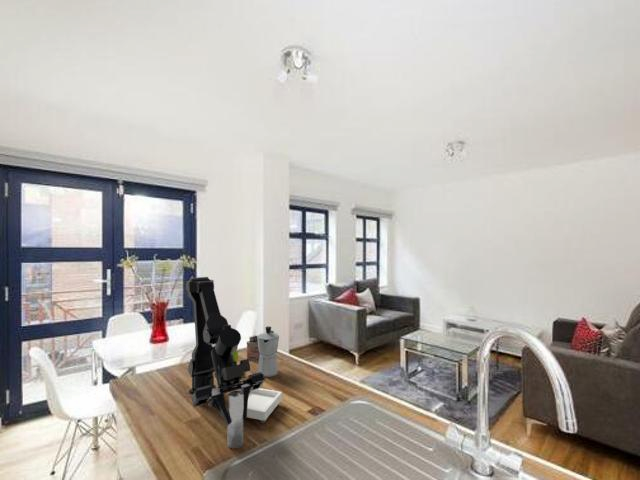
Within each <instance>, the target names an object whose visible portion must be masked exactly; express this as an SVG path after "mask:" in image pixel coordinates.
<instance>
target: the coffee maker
mask: <svg viewBox="0 0 640 480" xmlns="http://www.w3.org/2000/svg"><path fill="white" fill-rule="evenodd" d="M264 329H265V332H263V333H259V334H257V335H256V336H257V340H258V348H259V352H260V357H259V359H258V363H257V369H256V373H259V372H261V373H262V374H264V377H265V378H266V377H267V378H270V377H273V376H277V375H278V374H279V366H278V358H277V352H278V348H279V341H280V335H279V334H278V333H276V332H275V331H274V330H272V327H271V326H265V328H264Z"/></svg>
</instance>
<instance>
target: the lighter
mask: <svg viewBox="0 0 640 480" xmlns="http://www.w3.org/2000/svg"><path fill="white" fill-rule="evenodd" d="M257 336H258V335H257V334H254V335H252V336H248V337H249V339H248V340H247V341H246V359H248V361H255V360H259V357H260V352H259V348H258V340H257Z"/></svg>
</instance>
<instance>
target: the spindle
mask: <svg viewBox="0 0 640 480" xmlns="http://www.w3.org/2000/svg"><path fill="white" fill-rule="evenodd" d="M227 412H228V415H229V420H230V424H229V425H227V433H226V434H227V437H226V438H227V439H226V441H227V445H226V446H227V447H228V448H229V449H231V448H232V450H235V449H234V448H236V449H239V448H241V447H242V446H243V445H244V417H243V412H244V393H243V392H242V391H240V390H235V391H232V392H228V394H227ZM240 446H241V447H240Z"/></svg>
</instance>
